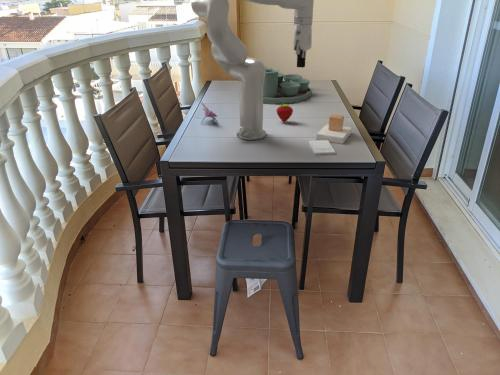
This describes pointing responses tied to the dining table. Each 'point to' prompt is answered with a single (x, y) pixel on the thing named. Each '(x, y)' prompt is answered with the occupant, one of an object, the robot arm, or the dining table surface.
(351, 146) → the dining table surface
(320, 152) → the external hard drive
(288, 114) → the strawberry
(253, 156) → the dining table surface
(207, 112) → the lily
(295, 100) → the tea set
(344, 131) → the socket
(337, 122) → the plug
